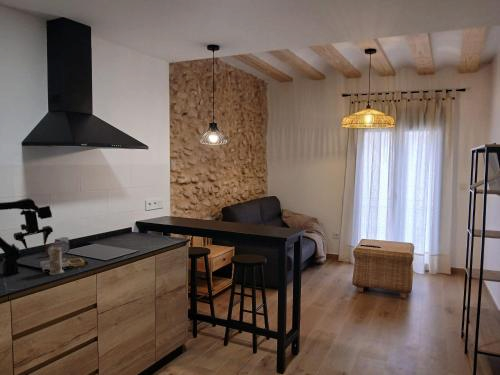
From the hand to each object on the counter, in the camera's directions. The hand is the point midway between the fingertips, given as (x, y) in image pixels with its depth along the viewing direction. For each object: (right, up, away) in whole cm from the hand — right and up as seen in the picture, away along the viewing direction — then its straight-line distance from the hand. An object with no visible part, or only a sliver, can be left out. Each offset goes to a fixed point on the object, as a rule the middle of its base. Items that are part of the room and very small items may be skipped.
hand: (35, 247), depth 217 cm
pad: (+13, -14, -3) cm, 19 cm away
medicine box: (-5, -9, +41) cm, 43 cm away
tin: (-3, -10, +32) cm, 33 cm away
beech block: (+13, -13, -3) cm, 19 cm away
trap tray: (+17, -12, +12) cm, 24 cm away
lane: (+8, -13, +6) cm, 16 cm away
